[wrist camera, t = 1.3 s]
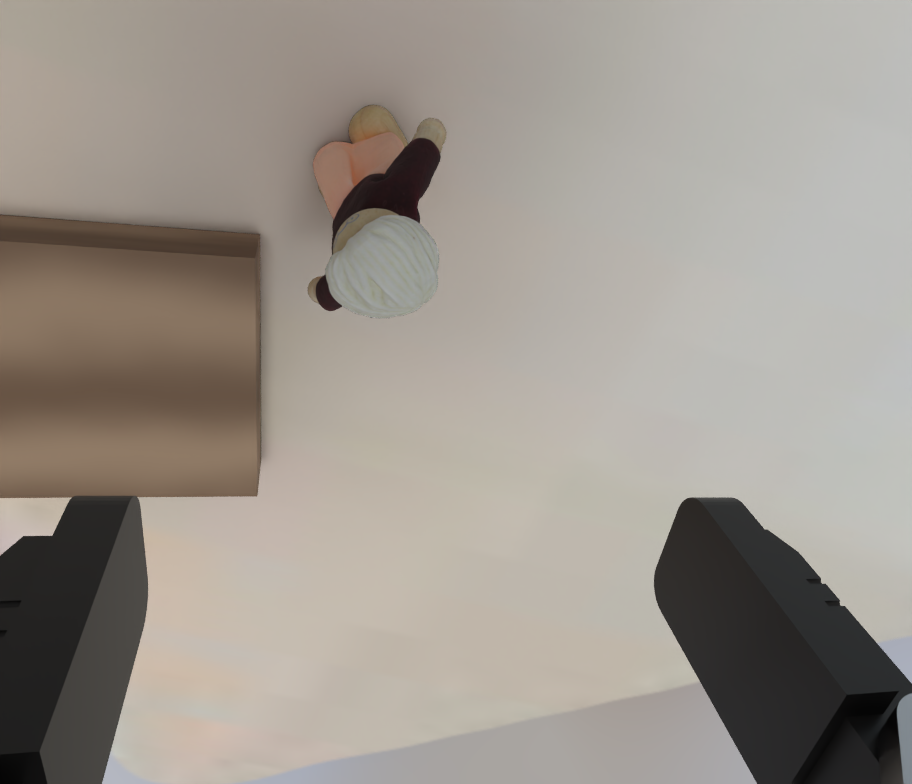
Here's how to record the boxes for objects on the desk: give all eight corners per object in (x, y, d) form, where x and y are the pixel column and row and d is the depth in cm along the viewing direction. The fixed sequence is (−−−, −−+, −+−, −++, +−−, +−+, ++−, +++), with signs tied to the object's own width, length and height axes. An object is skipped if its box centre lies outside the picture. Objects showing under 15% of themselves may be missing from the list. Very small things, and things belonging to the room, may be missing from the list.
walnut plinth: (-56, 210, 27) (-94, 234, 24) (259, 234, 30) (254, 258, 27) (1, 458, 33) (-24, 498, 30) (261, 459, 36) (257, 496, 33)
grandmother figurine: (349, 61, 27) (374, 116, 16) (436, 106, 28) (511, 183, 18) (282, 236, 30) (265, 380, 19) (363, 269, 31) (390, 419, 21)
